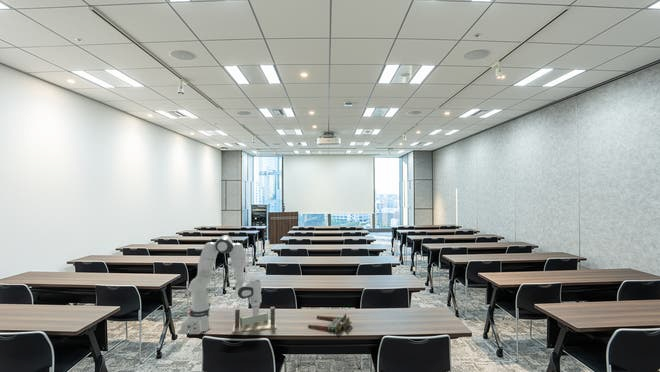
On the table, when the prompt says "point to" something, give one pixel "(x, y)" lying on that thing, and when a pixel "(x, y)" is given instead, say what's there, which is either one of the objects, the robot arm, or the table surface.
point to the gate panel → (253, 319)
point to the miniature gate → (333, 323)
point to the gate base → (256, 326)
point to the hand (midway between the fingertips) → (255, 318)
